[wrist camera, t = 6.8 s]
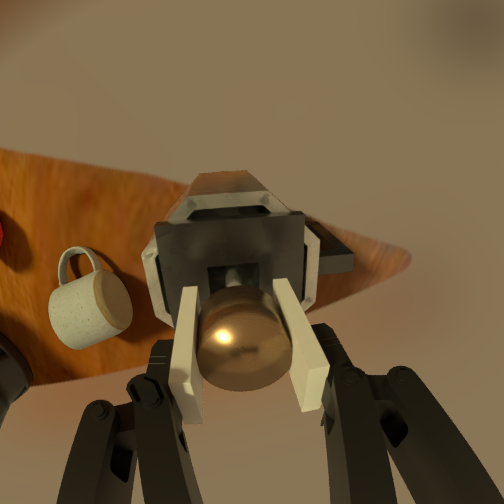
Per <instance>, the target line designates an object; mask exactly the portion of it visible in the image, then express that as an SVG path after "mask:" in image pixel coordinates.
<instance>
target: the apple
mask: <svg viewBox="0 0 504 504" xmlns="http://www.w3.org/2000/svg"><path fill="white" fill-rule="evenodd" d="M2 239H3V230H2V226H1V223H0V247H1V243H2Z"/></svg>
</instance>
